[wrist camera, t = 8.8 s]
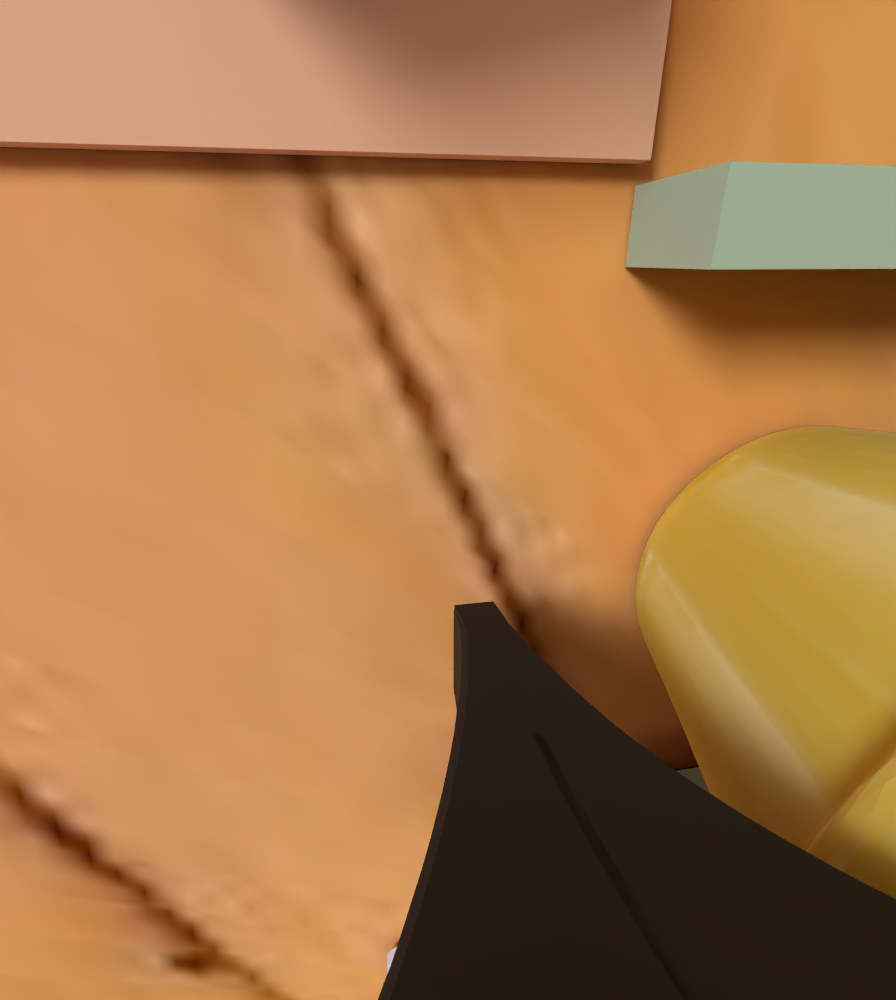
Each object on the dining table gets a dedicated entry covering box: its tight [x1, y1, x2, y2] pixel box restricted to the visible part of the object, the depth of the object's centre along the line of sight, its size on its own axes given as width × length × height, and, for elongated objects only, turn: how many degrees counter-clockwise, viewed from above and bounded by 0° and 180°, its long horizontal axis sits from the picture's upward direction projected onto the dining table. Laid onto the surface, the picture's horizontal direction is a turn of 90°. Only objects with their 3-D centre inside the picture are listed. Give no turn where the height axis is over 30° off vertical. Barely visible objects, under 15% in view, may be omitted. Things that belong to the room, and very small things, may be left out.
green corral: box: [625, 161, 896, 793], centre depth 11 cm, size 15×10×2 cm, turn 0°
